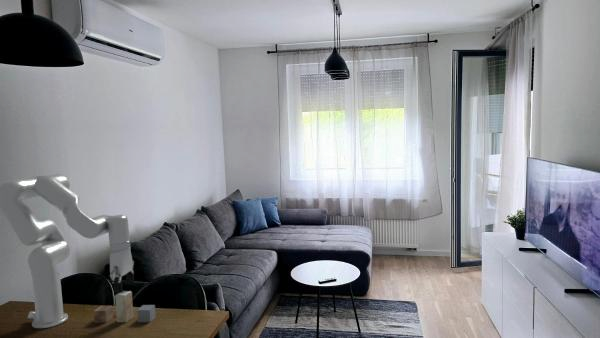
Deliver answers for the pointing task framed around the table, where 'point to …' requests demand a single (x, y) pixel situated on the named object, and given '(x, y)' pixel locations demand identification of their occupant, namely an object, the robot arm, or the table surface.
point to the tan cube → (103, 314)
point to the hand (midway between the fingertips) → (124, 287)
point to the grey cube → (146, 313)
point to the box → (124, 306)
